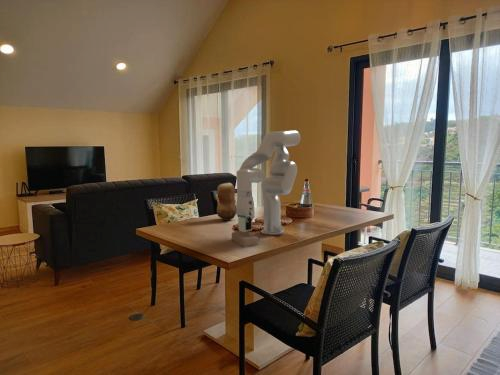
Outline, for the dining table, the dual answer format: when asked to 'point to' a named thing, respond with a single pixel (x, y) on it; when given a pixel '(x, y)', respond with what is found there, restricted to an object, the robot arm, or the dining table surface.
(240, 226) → the block
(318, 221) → the dining table surface
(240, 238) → the brick
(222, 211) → the brown oblong lump
